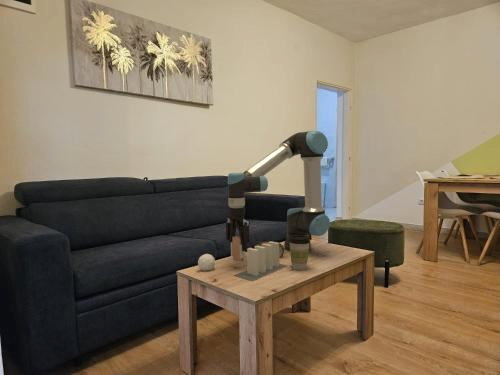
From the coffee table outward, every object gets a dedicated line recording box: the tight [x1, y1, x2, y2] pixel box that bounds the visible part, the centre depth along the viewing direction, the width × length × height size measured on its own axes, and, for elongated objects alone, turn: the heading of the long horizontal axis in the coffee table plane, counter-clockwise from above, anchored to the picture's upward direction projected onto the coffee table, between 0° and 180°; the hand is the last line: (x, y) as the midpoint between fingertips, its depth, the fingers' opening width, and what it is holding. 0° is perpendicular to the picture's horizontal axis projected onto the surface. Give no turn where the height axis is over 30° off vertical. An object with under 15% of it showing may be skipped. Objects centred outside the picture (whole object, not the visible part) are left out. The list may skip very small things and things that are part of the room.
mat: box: [232, 263, 288, 282], centre depth 150 cm, size 26×11×1 cm, turn 140°
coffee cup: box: [289, 235, 311, 271], centre depth 153 cm, size 10×10×15 cm
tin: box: [255, 241, 285, 259], centre depth 171 cm, size 15×3×8 cm, turn 84°
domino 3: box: [253, 245, 266, 273], centre depth 149 cm, size 2×5×11 cm, turn 50°
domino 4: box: [261, 244, 273, 270], centre depth 153 cm, size 2×5×11 cm, turn 50°
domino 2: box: [246, 247, 259, 276], centre depth 145 cm, size 2×5×11 cm, turn 50°
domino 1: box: [232, 235, 244, 263], centre depth 155 cm, size 2×5×11 cm, turn 49°
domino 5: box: [267, 241, 280, 267], centre depth 157 cm, size 2×5×11 cm, turn 50°
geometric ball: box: [197, 253, 216, 272], centre depth 153 cm, size 8×8×8 cm
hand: (238, 256), depth 155 cm, fingers closed on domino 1, 5 cm apart
